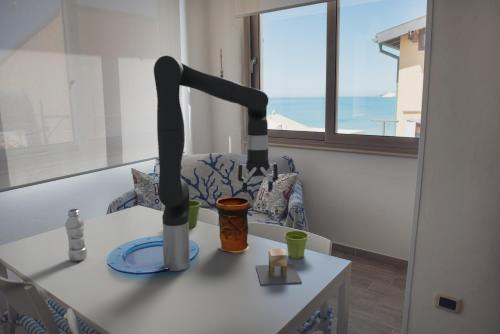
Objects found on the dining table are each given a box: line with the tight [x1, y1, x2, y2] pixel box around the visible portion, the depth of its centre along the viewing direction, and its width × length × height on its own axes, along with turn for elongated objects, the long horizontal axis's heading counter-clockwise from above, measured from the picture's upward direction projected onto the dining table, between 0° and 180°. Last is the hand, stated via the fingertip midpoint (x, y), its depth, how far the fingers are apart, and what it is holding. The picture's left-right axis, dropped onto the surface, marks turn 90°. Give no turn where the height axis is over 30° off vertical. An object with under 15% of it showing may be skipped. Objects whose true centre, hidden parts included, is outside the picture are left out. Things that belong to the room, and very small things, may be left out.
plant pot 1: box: [188, 199, 202, 229], centre depth 182 cm, size 12×12×11 cm
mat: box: [255, 263, 303, 286], centre depth 133 cm, size 14×14×1 cm
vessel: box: [215, 196, 251, 254], centre depth 156 cm, size 14×14×20 cm
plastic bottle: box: [64, 208, 88, 262], centre depth 144 cm, size 6×7×20 cm
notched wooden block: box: [268, 248, 288, 277], centre depth 132 cm, size 6×6×8 cm
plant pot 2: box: [283, 230, 310, 259], centre depth 148 cm, size 9×9×9 cm
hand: (257, 191), depth 136 cm, fingers open, 8 cm apart
